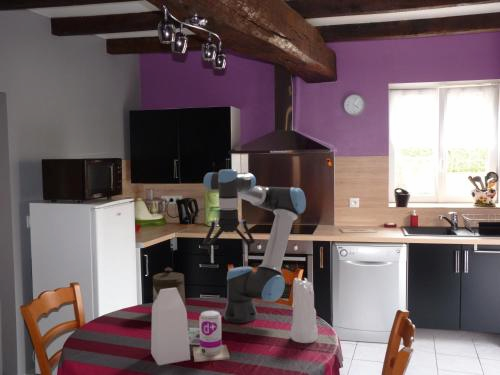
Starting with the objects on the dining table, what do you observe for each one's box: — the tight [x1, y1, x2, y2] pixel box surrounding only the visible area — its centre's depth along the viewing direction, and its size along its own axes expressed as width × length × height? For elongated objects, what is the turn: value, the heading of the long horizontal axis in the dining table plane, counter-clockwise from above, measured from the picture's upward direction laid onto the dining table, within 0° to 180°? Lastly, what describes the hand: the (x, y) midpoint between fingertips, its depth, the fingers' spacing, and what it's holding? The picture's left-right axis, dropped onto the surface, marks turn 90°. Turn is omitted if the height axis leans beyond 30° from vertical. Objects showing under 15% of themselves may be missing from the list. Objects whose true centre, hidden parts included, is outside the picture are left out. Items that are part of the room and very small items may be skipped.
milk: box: [150, 288, 191, 366], centre depth 196 cm, size 12×12×26 cm
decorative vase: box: [290, 277, 319, 344], centre depth 213 cm, size 11×11×25 cm
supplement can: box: [198, 309, 223, 356], centre depth 198 cm, size 8×8×15 cm
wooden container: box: [152, 266, 186, 307], centre depth 246 cm, size 15×15×22 cm
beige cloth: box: [192, 344, 231, 363], centre depth 199 cm, size 13×12×1 cm
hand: (229, 261), depth 208 cm, fingers open, 13 cm apart
